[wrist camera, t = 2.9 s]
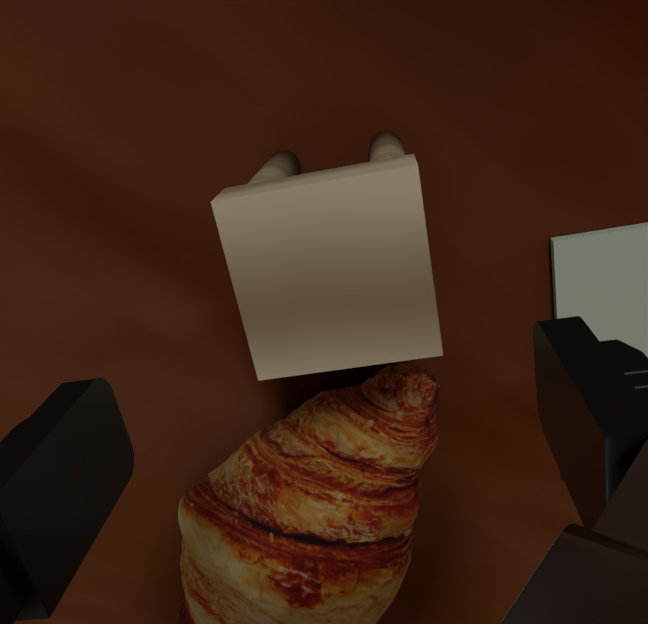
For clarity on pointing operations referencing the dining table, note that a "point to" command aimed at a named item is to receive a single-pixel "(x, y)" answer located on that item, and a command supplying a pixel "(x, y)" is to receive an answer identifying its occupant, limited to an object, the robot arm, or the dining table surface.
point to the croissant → (313, 509)
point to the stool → (331, 263)
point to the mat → (604, 282)
